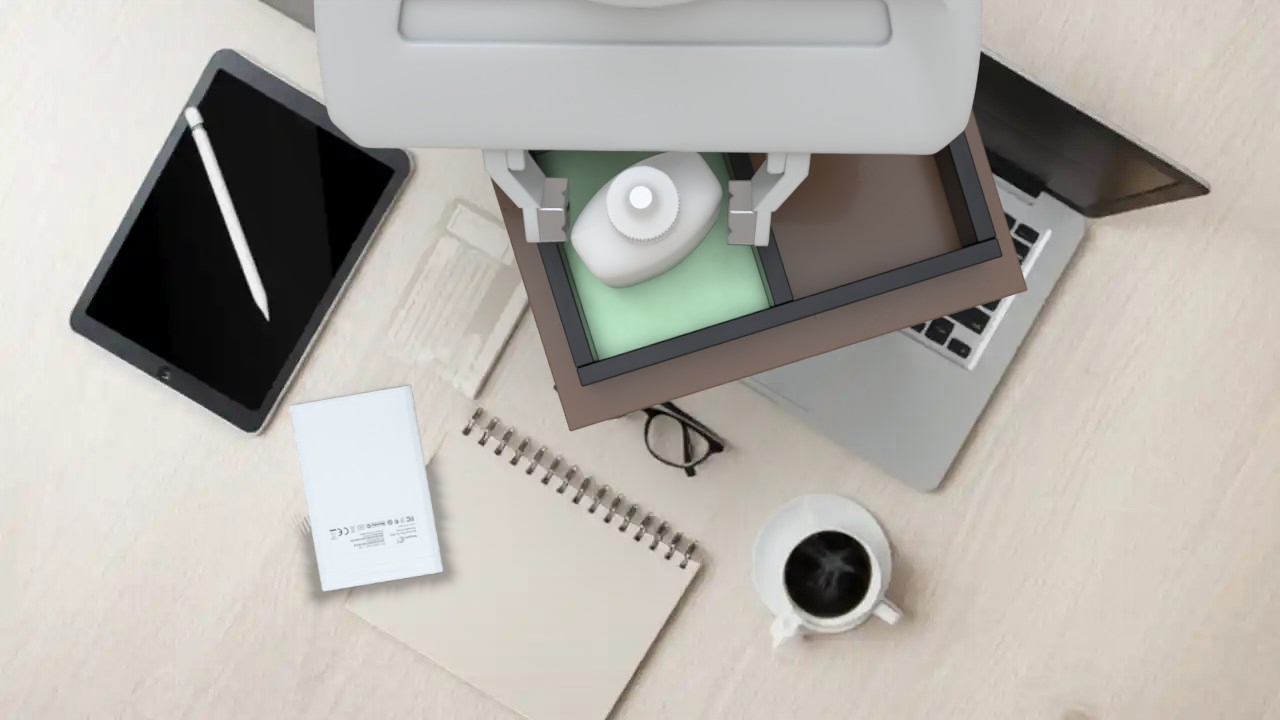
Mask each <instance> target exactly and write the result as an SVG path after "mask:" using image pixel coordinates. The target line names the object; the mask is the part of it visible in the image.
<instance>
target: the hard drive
mask: <svg viewBox="0 0 1280 720" xmlns="http://www.w3.org/2000/svg"><path fill="white" fill-rule="evenodd" d="M413 394H414V393H413V389H412V385H411V384H407V385H402V386H396V387H395V386H394V387H390V388H384V389H377V390H373V391H366V392H361V393H355V394H349V395H343V396H338V397H332V398H326V399H321V400H315V401H314V400H313V401H309V402H308V401H307V402H303V403H302V402H301V403H297V404H289V406H288V407H289V412H290V418H291V425H292V429H293V435H294V440H295V446H296V451H297V458H298V463H299V468H300V474H301V479H302V485H303V490H304V496H305V501H306V502H305V503H306V507H307V512H308V513H307V514H308V518H309V524H310V529H311V535H312V541H313V546H314V552H315V557H316V563H317V568H318V572H319V573H318V574H319V579H320V585H321V591H322V592H332V591H336V590H342V589H348V588H353V587H360V586H361V587H362V586H367V585H373V584H378V583H384V582H391V581H397V580H403V579H404V580H405V579H411V578H416V577H420V576H421V577H422V576H428V575H434V574H438V573H442V572H444V568H443V567H444V566H443V560H442V556H441V550H440V545H439V538H438V533H437V532H438V531H437V527H436V521H435V514H434V509H433V503H432V497H431V491H430V484H429V479H428V474H427V467H426V462H425V456H424V450H423V445H422V440H421V439H422V438H421V433H420V428H419V423H418V417H417V411H416V405H415V399H414V395H413Z"/></svg>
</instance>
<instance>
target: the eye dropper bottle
mask: <svg viewBox="0 0 1280 720" xmlns="http://www.w3.org/2000/svg"><path fill="white" fill-rule="evenodd" d="M722 197H723V191H722V188H721V185H720V183H719V181H718V180H717V178H716V176H715V175H714V173H713V172H712V170H711V169H710V167H709V166H708V165H707V163H706V162H705V161H704V159H703V158H702V157H701V155H699V154H698V153H697V152H666V153H662V154H659V155H656V156H653V157H650V158H647V159H645V160H642V161H640V162H638V163H636V164H634V165H632V166H630V167H629V168H627V169H625V170H624V171H622V172H621V173H619V174H618V175H616V176H615V177H614V178H612V179H611V180H610V181H609V182H608V183H606V184H605V185H604V186H603V187H602V188H601V189H600V190H599V191H598V192H597V193H596V194H595V195H594V197H593V198H592V199H591V200H590V201H589V202H588V204H587V205H586V206H585V208H584V209H583V211H582V212H581V213H580V215H579V217H578V218H577V220H576V222H575V224H574V226H573V228H572V232H571V237H570V238H571V241H572V245H573V247H574V248H575V250H576V251H577V253H578V254H579V256H580V257H581V259H582V260H583V262H584V263H585V265H586V266H587V267H588V269H589V270H590V271H591V273H592V274H593V275H594V276H595V277H596V278H598V279H599V280H600V281H602V282H603V283H604V284H606V285H608V286H609V287H612V288H624V287H629V286H633V285H637V284H640V283H643V282H646V281H648V280H651V279H653V278H655V277H657V276H660V275H662V274H663V273H665V272H667V271H669V270H670V269H672V268H673V267H675V266H676V265H678V264H679V263H680V262H682V261H683V260H684V259H685V258H686V257H688V256H689V255H690V254H691V253H692V252H693V251H694V250H695V249H696V248H697V247H698V246H699V245H700V243H701V242H702V241H703V240H704V239H705V237H706V236H707V235H708V233H709V232H710V230H711V229H712V227H713V226H714V224H715V222H716V220H717V217H718V214H719V210H720V206H721V202H722Z"/></svg>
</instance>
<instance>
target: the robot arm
mask: <svg viewBox="0 0 1280 720" xmlns="http://www.w3.org/2000/svg"><path fill="white" fill-rule="evenodd" d="M313 15H314V16H313V17H314V31H315V40H316V41H315V42H316V51H317V59H318V66H319V67H318V68H319V73H320V81H321V86H322V91H323V97H324V101H325V106H326V110H327V114H328V117H329V119H330V121H331V123H332V124H333V125H334V126H335V127H336V128H338V129H339V131H341V132H342V133H343V134H344V135H345V136H346V137H347V138H349V139H350V140H351V141H352V142H353V143H355V144H356V145H358V146H359V147H362V148H366V149H419V150H420V149H421V150H422V149H425V150H426V149H428V150H430V149H431V150H432V149H433V150H481V154H482V160H483V168H484V171H485V173H486V174H487V175H488V176H489V177H491V178H492V179H493V180H494V181H495V182H496V183H497V184H498V186H499V187H500V188H501V189H502V190H503V191H504V192H505V193H506V194H507V196H508V197H509V198H510V199H511V200H512V201H513V202H514V203H515V204H516V205H517V207H518V208H522V209H523V217H524V225H525V234H526V240H527V242H541V243H568V239H569V231H568V229H570V223H571V205H570V202H569V194H570V192H569V180H568V178H546V176H545V175H544V173H543V172H542V171H541V169H540V168H539V166H538V165H537V164H536V162H535V161H534V160H533V158H532V157H531V156H530V154H529V153H528V150H586V151H665V152H748V153H766V160H765V161H764V163H763V164H762V165H761V167H760V168H759V169H758V171H757V172H756V173H755V175H754V176H753V177H752V179H751V180H731V181H729V182H728V205H727V245H743V246H768V243H769V233H770V222H771V212H775V211H776V210H777V209H778V208H779V207H780V206H781V205H782V203H783V202H784V201H785V200H786V199H787V198H788V197H789V196H790V195H791V194H792V192H793V191H794V190H795V189H796V188H797V187H798V186H799V185H800V184H801V182H802V181H803V180H804V179H805V178H806V177H807V176H808V173H809V165H810V157H811V153H827V154H903V155H931V154H935V153H937V152H938V151H940V150H941V149H943V148H944V147H945V146H947V145H948V144H949V143H950V142H951V141H953V140H954V139H955V138H956V137H957V136H958V135H959V134H960V133H962V132H963V131H964V129H965V128H966V126H967V124H968V121H969V117H970V114H971V110H973V104H974V99H975V93H976V88H977V82H978V74H979V68H980V59H981V50H982V37H983V36H982V35H983V19H984V17H983V16H984V1H983V0H313ZM491 178H490V179H491Z"/></svg>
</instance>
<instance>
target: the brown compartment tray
mask: <svg viewBox="0 0 1280 720" xmlns="http://www.w3.org/2000/svg"><path fill="white" fill-rule="evenodd" d="M976 119H977V118H976V116H975V113H974V110H973V109H972V110H971V114H970V117H969V121H968V124H967V126H966V128H965V129H964V131H963V132H962V133H960V134H959V135H958V136H957V137H956V138H955V139H954V140H953V141H951V142H950V143H949V144H948V145H947V146H945V147H944V148H943V149H941V150H940V151H938V152H937V153H935V154H931V155H903V154H827V153H811V157H810V165H809V173H808V176H807V177H806V178H805V179H804V180H803V181H802V182H801V184H800V185H799V186H798V187H797V188H796V189H795V190H794V191H793V192H792V194H791V195H790V196H789V197H788V198H787V199H786V200H785V201H784V202H783V203H782V205H781V206H780V207H779V208H778V209H777V210H776V211H775V212H771V222H770V233H769V243H768V246H743V245H727V205H728V182H729V181H731V180H751V179H752V177H753V176H754V175H755V173H756V172H757V171H758V169H759V168H760V167H761V165H762V164H763V163H764V161H765V160H766V153H748V152H697V153H698V154H699V155H701V157H702V158H703V159H704V161H705V162H706V163H707V165H708V166H709V167H710V169H711V170H712V172H713V173H714V175H715V176H716V178H717V180H718V181H719V183H720V185H721V188H722V191H723V197H722V202H721V206H720V210H719V214H718V217H717V220H716V222H715V224H714V226H713V227H712V229H711V230H710V232H709V233H708V235H707V236H706V237H705V239H704V240H703V241H702V242H701V243H700V245H699V246H698V247H697V248H696V249H695V250H694V251H693V252H692V253H691V254H690V255H689V256H688V257H686V258H685V259H684V260H683V261H682V262H680V263H679V264H678V265H676V266H675V267H673V268H672V269H670V270H669V271H667V272H665V273H663V274H662V275H660V276H657V277H655V278H653V279H651V280H648V281H646V282H643V283H640V284H637V285H633V286H629V287H624V288H612V287H609V286H608V285H606V284H604V283H603V282H602V281H600V280H599V279H598V278H596V277H595V276H594V275H593V274H592V273H591V271H590V270H589V269H588V267H587V266H586V265H585V263H584V262H583V260H582V259H581V257H580V256H579V254H578V253H577V251H576V250H575V248H574V247H573V245H572V241H571V238H570V237H571V232H572V228H573V226H574V224H575V222H576V220H577V218H578V217H579V215H580V213H581V212H582V211H583V209H584V208H585V206H586V205H587V204H588V202H589V201H590V200H591V199H592V198H593V197H594V195H595V194H596V193H597V192H598V191H599V190H600V189H601V188H602V187H603V186H604V185H605V184H606V183H608V182H609V181H610V180H611V179H612V178H614V177H615V176H616V175H618V174H619V173H621V172H622V171H624V170H625V169H627V168H629V167H630V166H632V165H634V164H636V163H638V162H640V161H642V160H645V159H647V158H650V157H653V156H656V155H659V154H662V153H666V152H665V151H586V150H528V153H529V154H530V156H531V157H532V158H533V160H534V161H535V162H536V164H537V165H538V166H539V168H540V169H541V171H542V172H543V173H544V175H545V176H546V178H568V180H569V192H570V194H569V202H570V205H571V223H570V229H568V231H569V239H568V243H541V242H527V240H526V234H525V225H524V217H523V209H522V208H518V207H517V205H516V204H515V203H514V202H513V201H512V200H511V199H510V198H509V197H508V196H507V194H506V193H505V192H504V191H503V190H502V189H501V188H500V187H499V186H498V184H497V183H496V182H495V181H494V180H493V179H492V178H491V177H490V176H489V177H490V181H491V184H492V187H493V190H494V194H495V197H496V200H497V204H498V206H499V210H500V213H501V216H502V219H503V222H504V226H505V229H506V232H507V236H508V239H509V242H510V244H511V248H512V252H513V254H514V258H515V261H516V265H517V268H518V271H519V274H520V277H521V279H522V284H523V286H524V290H525V293H526V296H527V299H528V303H529V306H530V309H531V312H532V315H533V319H534V322H535V325H536V327H537V331H538V334H539V338H540V341H541V344H542V347H543V351H544V354H545V357H546V361H547V363H548V366H549V367H548V368H549V370H550V374H551V376H552V379H553V383H554V386H555V389H556V393H557V396H558V399H559V402H560V405H561V408H562V411H563V414H564V417H565V421H566V424H567V427H568V430H569V432H574V431H577V430H581V429H583V428H587V427H590V426H593V425H596V424H600V423H603V422H606V421H609V420H613V419H616V418H619V417H623V416H625V415H629V414H632V413H636V412H639V411H642V410H645V409H650V408H653V407H655V406H658V405H661V404H664V403H668V402H671V401H674V400H675V401H676V400H677V399H682V398H685V397H688V396H691V395H693V394H697V393H701V392H705V391H707V390H710V389H713V388H717V387H720V386H723V385H726V384H730V383H732V382H736V381H739V380H742V379H745V378H748V377H749V378H750V377H752V376H756V375H758V374H762V373H766V372H768V371H772V370H775V369H779V368H782V367H784V366H788V365H791V364H794V363H797V362H798V363H799V362H801V361H805V360H807V359H810V358H814V357H816V356H821V355H823V354H827V353H830V352H833V351H836V350H840V349H843V348H846V347H850V346H852V345H856V344H859V343H862V342H866V341H869V340H872V339H876V338H878V337H881V336H885V335H889V334H892V333H895V332H898V331H901V330H905V329H909V328H911V327H914V326H918V325H921V324H924V323H927V322H930V321H934V320H937V319H940V318H943V317H946V316H951V315H954V314H956V313H960V312H963V311H965V310H969V309H973V308H976V307H979V306H983V305H986V304H988V303H992V302H996V301H999V300H1001V299H1005V298H1008V297H1012V296H1014V295H1018V294H1021V293H1024V292H1027V291H1028V286H1027V283H1026V280H1025V275H1024V273H1023V270H1022V266H1021V263H1020V260H1019V257H1018V253H1017V250H1016V246H1015V243H1014V240H1013V237H1012V234H1011V231H1010V228H1009V224H1008V221H1007V217H1006V215H1005V214H1006V213H1005V211H1004V208H1003V205H1002V201H1001V198H1000V194H999V191H998V188H997V184H996V181H995V179H994V176H993V172H992V168H991V166H990V163H989V159H988V156H987V152H986V149H985V145H984V143H983V138H982V136H981V132H980V129H979V125H978V124H977V120H976Z"/></svg>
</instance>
